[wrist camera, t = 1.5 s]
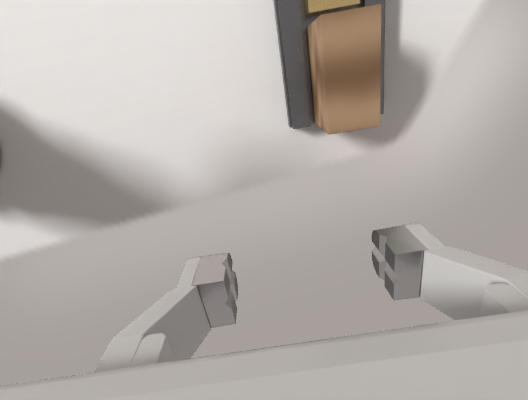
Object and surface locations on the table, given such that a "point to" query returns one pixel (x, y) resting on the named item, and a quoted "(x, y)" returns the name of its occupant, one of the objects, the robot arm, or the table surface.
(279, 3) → the slot bed
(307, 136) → the table surface
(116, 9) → the table surface
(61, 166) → the table surface
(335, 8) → the brass chip
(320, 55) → the brown wooden block
